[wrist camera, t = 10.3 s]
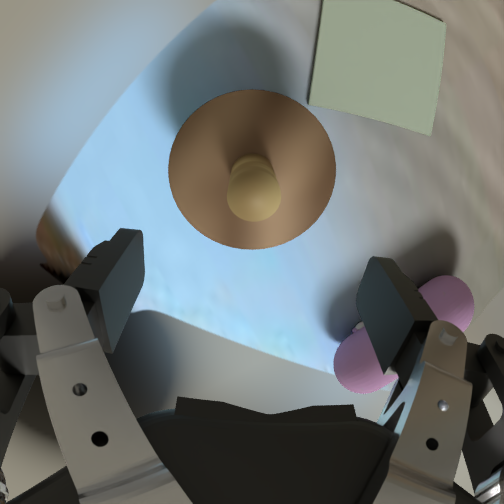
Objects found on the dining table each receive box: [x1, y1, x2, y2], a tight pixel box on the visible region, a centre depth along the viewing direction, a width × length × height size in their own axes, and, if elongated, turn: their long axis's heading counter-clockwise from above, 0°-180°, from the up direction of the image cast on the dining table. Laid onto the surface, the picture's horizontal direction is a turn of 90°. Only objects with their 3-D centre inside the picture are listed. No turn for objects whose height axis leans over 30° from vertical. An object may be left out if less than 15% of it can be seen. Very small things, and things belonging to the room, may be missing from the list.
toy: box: [334, 275, 474, 394], centre depth 34 cm, size 8×9×20 cm
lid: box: [168, 89, 336, 249], centre depth 20 cm, size 12×12×6 cm
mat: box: [308, 0, 446, 136], centre depth 23 cm, size 13×13×1 cm
